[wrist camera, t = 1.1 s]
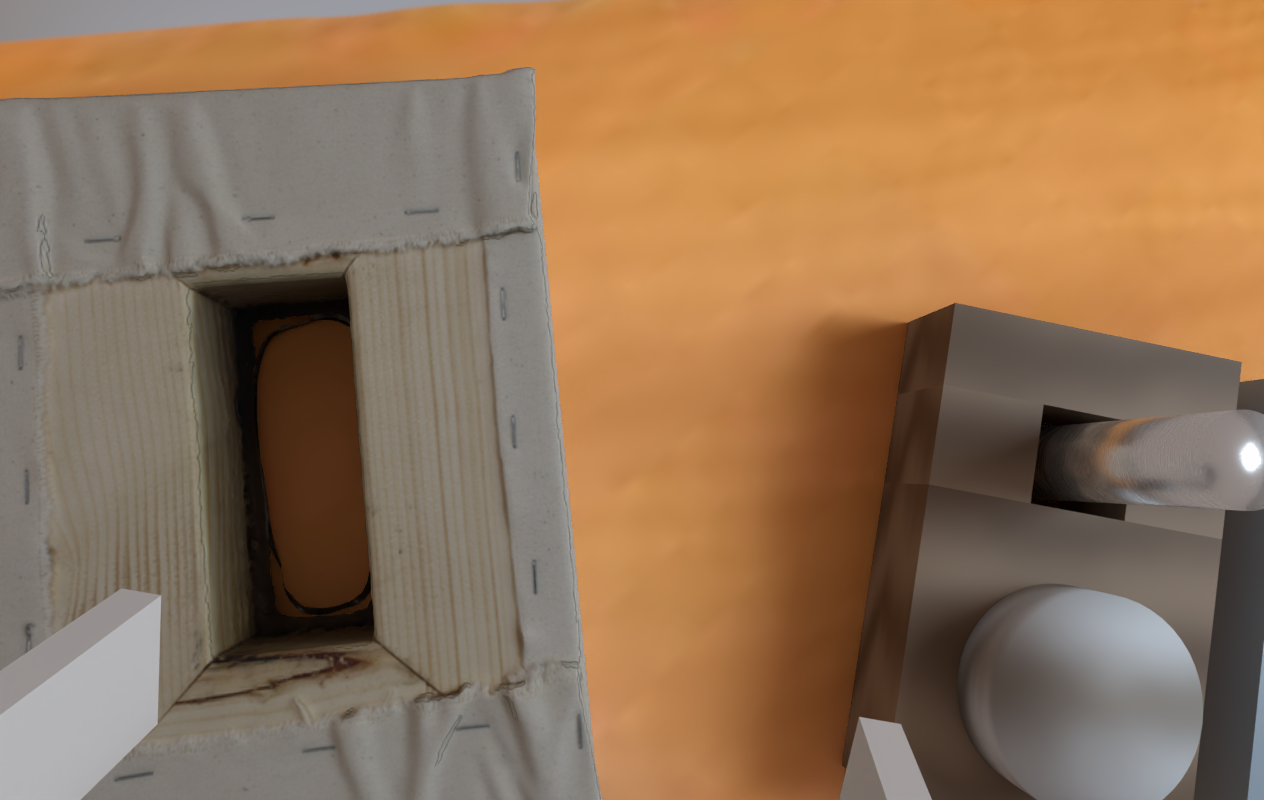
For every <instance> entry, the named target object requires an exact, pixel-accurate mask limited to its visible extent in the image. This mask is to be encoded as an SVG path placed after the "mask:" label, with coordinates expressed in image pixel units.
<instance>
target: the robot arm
mask: <svg viewBox="0 0 1264 800" xmlns="http://www.w3.org/2000/svg"><path fill="white" fill-rule="evenodd" d="M160 621H161V595H157V594H151V593H145V592H139V591H134V590H128V589H122V588H121V589H120V590H118V591H117V592H115V593H114V594H112V595H111V596H109V597H108V598H107V599H105V600H104V601H102V602H101V603H99V604H98V605H96V606H95V607H93V608H92V609H90V610H89V611H87V612H86V613H84V614H83V615H81V616H80V617H79V618H77V619H76V620H74V621H73V622H71V623H70V624H68V625H67V626H65V627H64V628H62V629H61V630H59V631H58V632H56V633H55V634H54V635H52V636H51V637H49V638H48V639H46V640H45V641H43V642H42V643H40V644H39V645H37V646H36V647H34V648H33V649H31V650H30V651H28V652H27V653H26V654H24V655H23V656H21V657H20V658H18V659H17V660H15V661H14V662H12V663H11V664H9V665H8V666H6V667H5V668H3V669H2V670H0V800H81V799H82V798H83V797H84V796H85V795H86V794H87V793H88V792H89V791H90V790H91V789H92V788H93V787H94V786H95V785H96V784H97V783H98V782H99V781H100V780H101V779H102V778H103V777H104V776H105V775H106V774H107V773H108V772H109V771H110V770H111V769H112V768H113V767H115V766H116V765H117V764H118V763H119V762H120V761H121V760H122V759H123V758H124V757H125V756H126V755H127V754H128V753H129V752H130V751H131V750H132V749H133V748H134V747H135V746H136V745H137V744H138V743H139V742H140V741H141V740H142V739H143V738H144V737H145V736H146V735H147V734H148V733H149V732H150V731H151V730H152V729H153V728H154V727H155V726H156V725H157V724H158V691H159V656H160ZM839 800H932V799H931V796H930V794H929V791H928V789H927V787H926V784H925V782H924V779H923V777H922V774H921V772H920V770H919V767H918V765H917V762H916V760H915V757H914V755H913V752H912V750H911V748H910V745H909V743H908V740H907V738H906V735H905V733H904V731H903V728H902V726H901V724H898V723H892V722H886V721H880V720H875V719H869V718H863V717H859V720H858V724H857V728H856V732H855V736H854V740H853V744H852V748H851V752H850V756H849V760H848V765H847V769H846V773H845V777H844V781H843V785H842V789H841V793H840V797H839Z"/></svg>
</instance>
